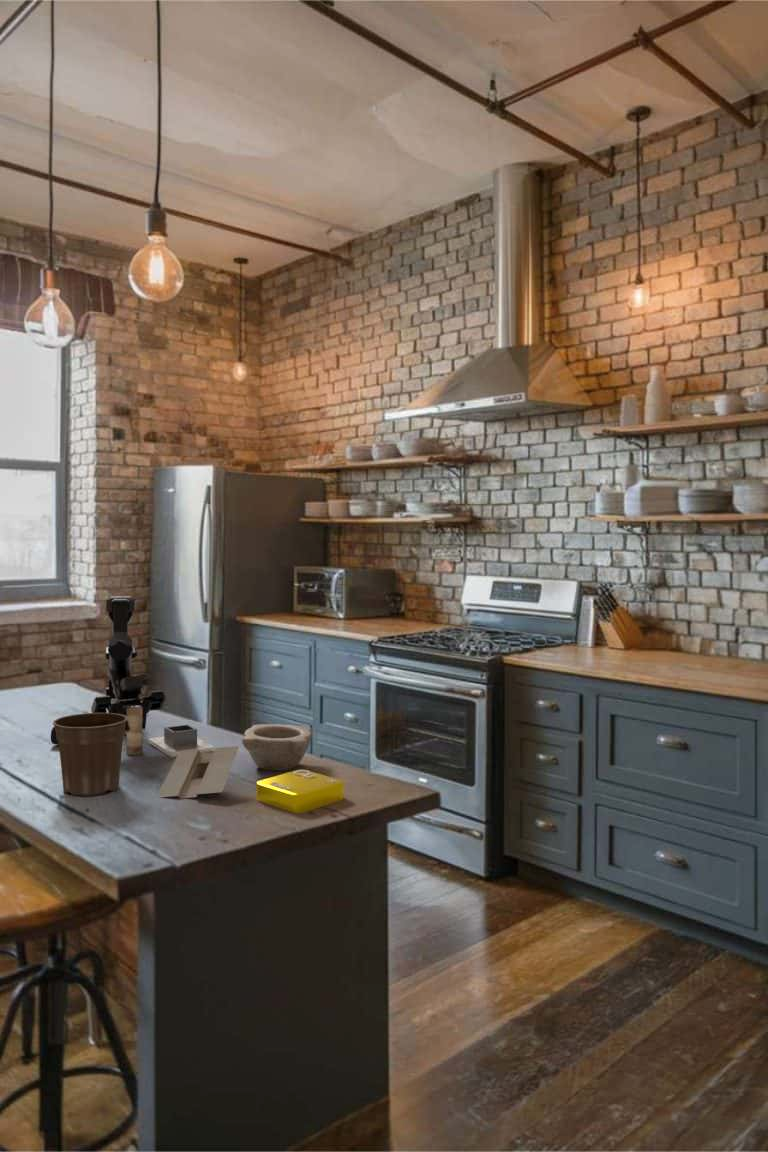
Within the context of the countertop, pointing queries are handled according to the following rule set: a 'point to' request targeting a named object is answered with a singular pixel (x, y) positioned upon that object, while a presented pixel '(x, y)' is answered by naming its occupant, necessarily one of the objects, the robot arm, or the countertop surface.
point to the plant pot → (90, 751)
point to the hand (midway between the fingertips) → (136, 729)
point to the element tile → (299, 791)
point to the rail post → (134, 731)
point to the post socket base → (180, 741)
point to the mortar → (277, 745)
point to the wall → (198, 773)
